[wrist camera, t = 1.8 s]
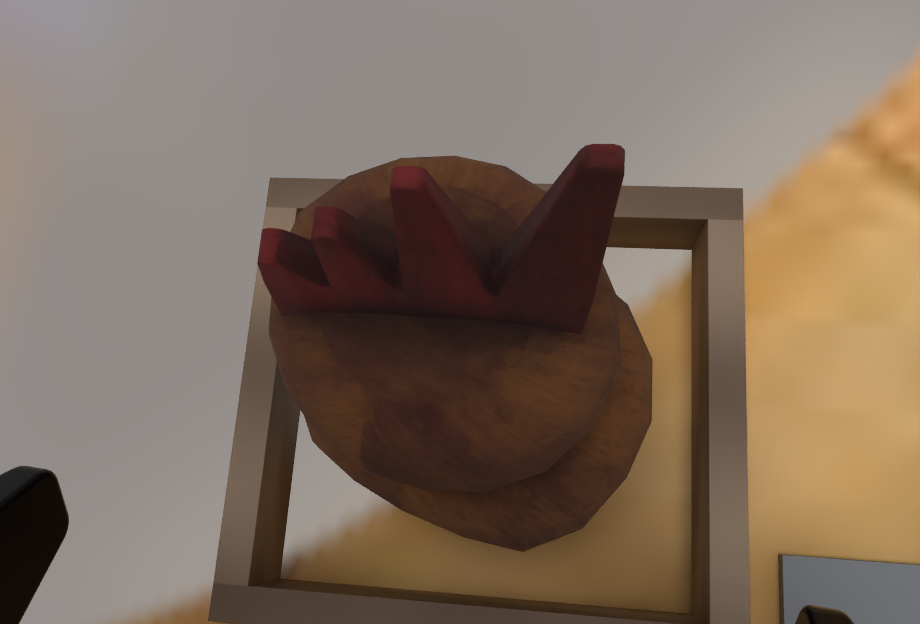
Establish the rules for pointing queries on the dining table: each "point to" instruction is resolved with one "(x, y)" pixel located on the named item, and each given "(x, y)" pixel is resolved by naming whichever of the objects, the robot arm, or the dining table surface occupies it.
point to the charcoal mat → (850, 589)
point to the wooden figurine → (465, 341)
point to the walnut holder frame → (489, 618)
